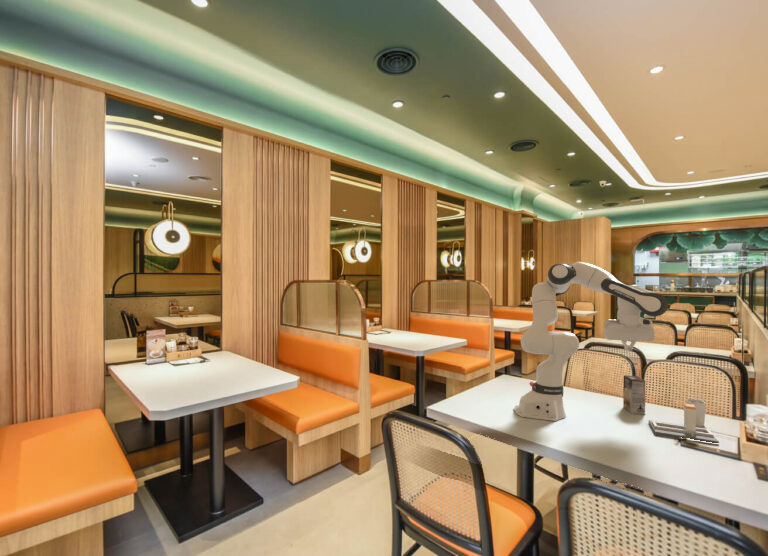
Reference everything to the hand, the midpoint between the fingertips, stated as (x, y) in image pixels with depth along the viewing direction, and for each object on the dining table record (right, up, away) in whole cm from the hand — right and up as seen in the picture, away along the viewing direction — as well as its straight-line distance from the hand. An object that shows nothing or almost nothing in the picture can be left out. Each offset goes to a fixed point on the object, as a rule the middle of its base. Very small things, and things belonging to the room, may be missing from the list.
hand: (628, 349), depth 172 cm
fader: (+13, -29, -19) cm, 37 cm away
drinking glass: (+25, -32, -7) cm, 41 cm away
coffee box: (+8, -31, +9) cm, 34 cm away
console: (+10, -31, -18) cm, 37 cm away
